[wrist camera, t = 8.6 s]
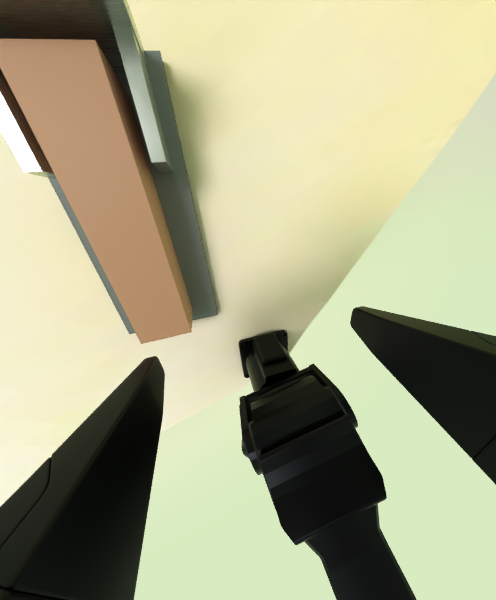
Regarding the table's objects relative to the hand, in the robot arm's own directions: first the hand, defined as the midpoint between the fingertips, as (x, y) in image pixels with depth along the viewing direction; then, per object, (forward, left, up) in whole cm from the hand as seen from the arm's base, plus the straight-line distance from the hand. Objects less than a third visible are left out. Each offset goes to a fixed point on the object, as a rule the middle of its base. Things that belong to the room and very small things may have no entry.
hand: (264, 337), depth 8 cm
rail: (+4, +6, -11) cm, 14 cm away
